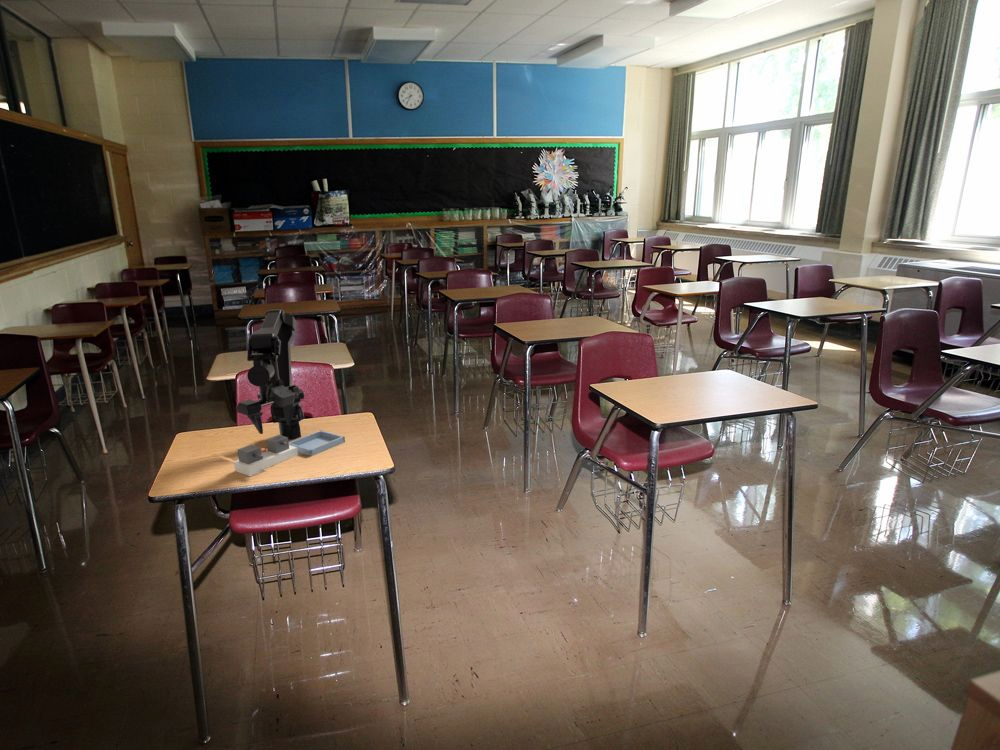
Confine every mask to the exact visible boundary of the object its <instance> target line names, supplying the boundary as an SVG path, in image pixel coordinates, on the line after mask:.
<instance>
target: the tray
mask: <svg viewBox="0 0 1000 750" xmlns="http://www.w3.org/2000/svg"><path fill="white" fill-rule="evenodd" d="M288 442H289V445H291V446H294V447H297V451H298V454H302V455H306V456H309V457H312V456H315V455H317V454H320V453H322V452H324V451H328V450H330V449H333V448H335V447H337V446H339V445H341V444H344V443H346V437H345V436H344V435H340V434H337V433H333V432H330V431H329V432H328V431H325V430H321V429H320V430H318V431H316V432H313V433H310V434H308V435H305V436H301V437H300V438H297V439H293V440H292V441H288Z"/></svg>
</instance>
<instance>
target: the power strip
mask: <svg viewBox="0 0 1000 750" xmlns="http://www.w3.org/2000/svg"><path fill="white" fill-rule="evenodd" d="M236 451H237V457H238V459H237V460H234V461H233V465H234V470H235V472H237V473H240V474H241V475H242V474H243V475H244V476H245V475H246V477H247V476H248V477H252V476H255V475H258V474H259V473H262V472H264V471H266V469H267V468H269V467H273V466H275V465H277V464H280V463H282V462H285V461H288V460H290V459H291V458H294V457H297V456H299V452H298V451H297V447H294V446H291V445H289V449H287V450H285V451H282V452H280V453H277V454H276V453H273V452H270V451H267V448H264V447H262V448H261V447H260V446H257V445H254V444H249V445H246V446H243V447H240V448H238V449H237V450H236Z"/></svg>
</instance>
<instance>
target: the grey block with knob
mask: <svg viewBox="0 0 1000 750" xmlns="http://www.w3.org/2000/svg"><path fill="white" fill-rule="evenodd" d="M289 442H290V441H289V439H288V437H285V436H281V435H280V434H277V435H274V436H272V437H268V438H266V439H265V444H266V449H267V451H270V452H273V453H276V454H277V453H280V452H282V451H285V450H287V449H289Z"/></svg>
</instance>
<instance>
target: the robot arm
mask: <svg viewBox="0 0 1000 750" xmlns="http://www.w3.org/2000/svg"><path fill="white" fill-rule="evenodd" d="M297 325H298V324H297V321H296V319H295V317H294V316H293V315H292V314H290V313H287V312H285V310H284V309H281V308H280V309H269V310H266V311H265V318H264V320H263V322H262V325H261V327H260V329H257V330H254V331H253V332H252V333H251V334H250V337H249V338H248V340H247V354H246V355H247V359H246V360H247V362H253V363H252V364H253V365H252V367H250V368H249V370H248V371H247V375H246V376H247V381H248V382H249V383H250V384H251V385H253V386H255V387H258V389H259V394H256V395H257V399H259V400H254V399H247V400H243V401H239V402H238V403H237V404H236V411H237V412H236V413H239V414H242V415H245V416H247V418H248V419H249V420H250V421H251V423H252V424H253V426H254V427H255V429H256V430H257V432H258V434H261V435H263V434H264V427H263V421H262V416H263V414H264V413H263V412H261V410H262V408H263V407H265V406H269V405H270V416H271V419H272V423H273V424H276V423H278V427H279V435H281V436H285V437H288V440H297V439H299V438H302V433H301V432H302V431H301V425H300V422H302V421H303V420H304V419H305V415H304V410H303V408H302V405H301V404H300V403H301V402H302V400H304V399H305V392H304V391H303V389H302V388H299V386H298V385H296V384H293V380H292V379H293V377H292V376H293V375H292V355H291V353H292V352H291V344H292V343H293V341H294V339H296V332H297V328H298V326H297Z"/></svg>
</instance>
